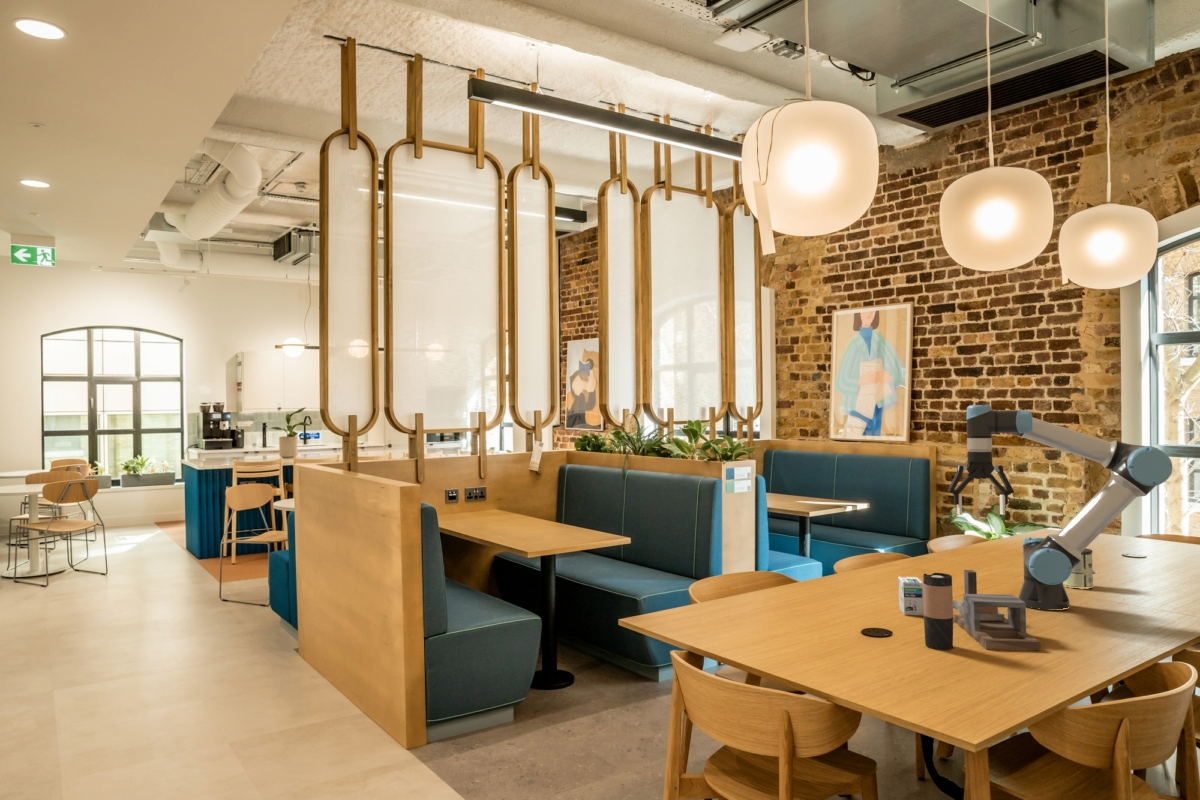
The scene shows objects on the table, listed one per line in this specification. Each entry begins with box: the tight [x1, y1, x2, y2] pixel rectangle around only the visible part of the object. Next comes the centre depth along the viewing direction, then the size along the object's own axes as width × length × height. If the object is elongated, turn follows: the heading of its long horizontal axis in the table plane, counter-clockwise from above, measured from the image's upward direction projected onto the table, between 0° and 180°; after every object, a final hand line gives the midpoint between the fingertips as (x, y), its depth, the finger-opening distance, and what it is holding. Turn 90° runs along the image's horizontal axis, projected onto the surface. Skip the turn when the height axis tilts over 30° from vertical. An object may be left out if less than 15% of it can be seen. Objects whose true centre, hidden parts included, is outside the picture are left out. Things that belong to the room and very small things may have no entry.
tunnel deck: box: [953, 593, 1041, 651], centre depth 232 cm, size 30×14×11 cm, turn 172°
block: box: [980, 607, 999, 621], centre depth 242 cm, size 7×6×5 cm
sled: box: [953, 569, 1005, 621], centre depth 247 cm, size 17×10×12 cm, turn 172°
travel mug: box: [922, 572, 954, 651], centre depth 222 cm, size 8×8×20 cm
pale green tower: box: [1063, 547, 1094, 587], centre depth 295 cm, size 10×10×14 cm
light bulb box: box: [897, 575, 924, 617], centre depth 261 cm, size 11×7×11 cm, turn 168°
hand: (981, 514), depth 263 cm, fingers open, 13 cm apart
